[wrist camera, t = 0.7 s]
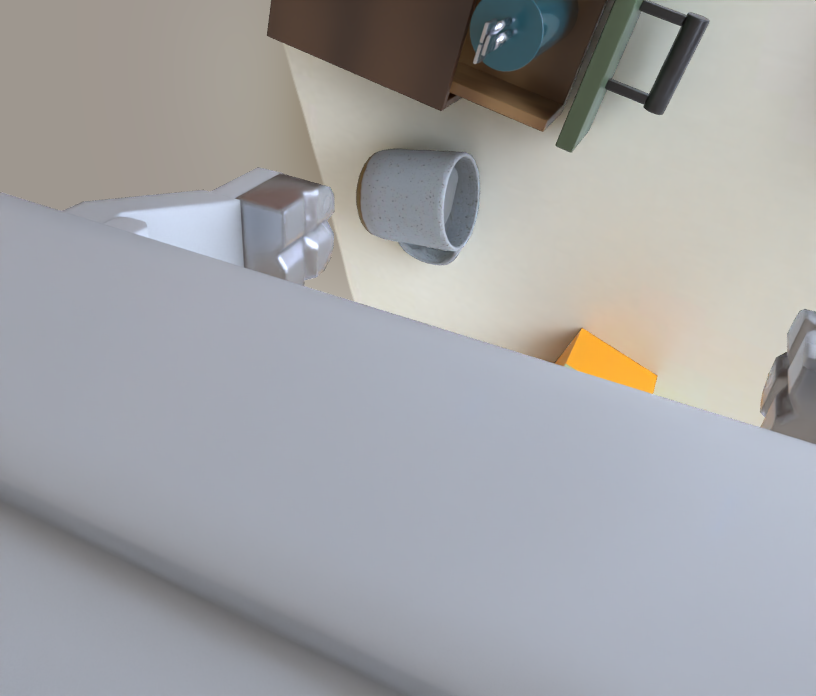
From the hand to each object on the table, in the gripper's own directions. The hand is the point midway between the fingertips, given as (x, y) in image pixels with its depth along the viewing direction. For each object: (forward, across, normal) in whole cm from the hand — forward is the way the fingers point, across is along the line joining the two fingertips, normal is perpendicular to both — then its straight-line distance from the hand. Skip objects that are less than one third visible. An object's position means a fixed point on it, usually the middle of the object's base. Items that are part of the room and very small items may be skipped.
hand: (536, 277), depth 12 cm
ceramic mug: (+42, +17, +18) cm, 49 cm away
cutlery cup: (+40, +10, +2) cm, 41 cm away
